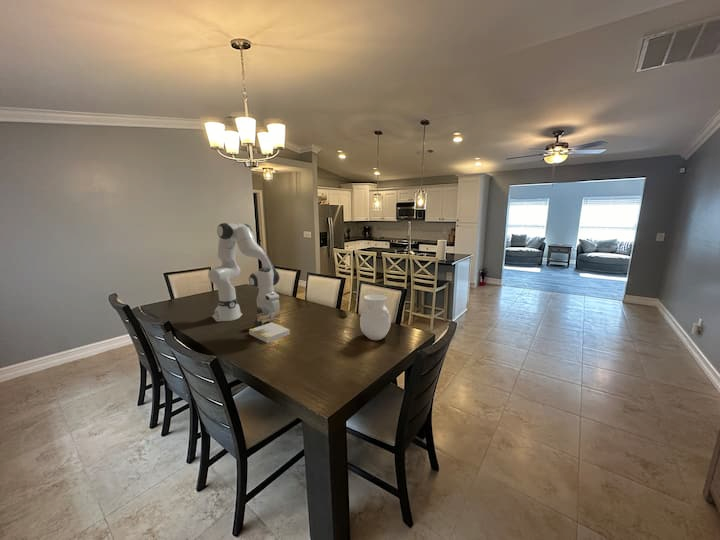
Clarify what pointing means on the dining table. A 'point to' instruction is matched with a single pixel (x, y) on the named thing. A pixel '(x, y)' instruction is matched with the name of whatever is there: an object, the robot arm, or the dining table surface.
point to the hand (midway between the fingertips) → (268, 316)
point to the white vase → (375, 317)
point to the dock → (269, 332)
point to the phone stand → (258, 323)
